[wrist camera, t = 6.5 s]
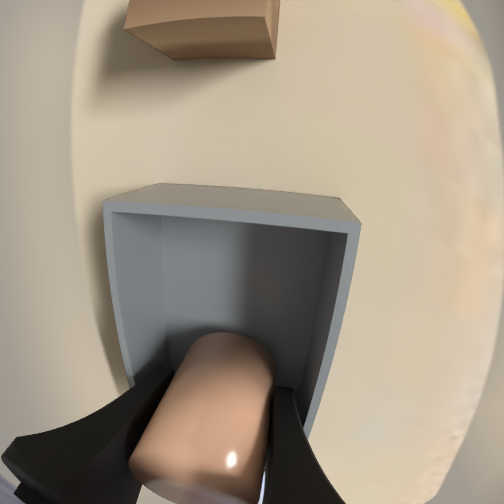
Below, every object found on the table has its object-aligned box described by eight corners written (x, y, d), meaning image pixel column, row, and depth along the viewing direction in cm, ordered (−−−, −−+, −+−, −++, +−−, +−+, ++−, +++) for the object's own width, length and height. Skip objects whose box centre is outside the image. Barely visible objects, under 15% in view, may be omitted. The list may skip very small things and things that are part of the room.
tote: (301, 400, 14) (299, 462, 10) (170, 379, 15) (142, 432, 11) (339, 197, 11) (361, 222, 7) (159, 183, 12) (102, 200, 8)
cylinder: (272, 407, 13) (254, 519, 7) (188, 393, 13) (143, 494, 8) (281, 339, 12) (265, 470, 6) (183, 325, 12) (114, 434, 6)
